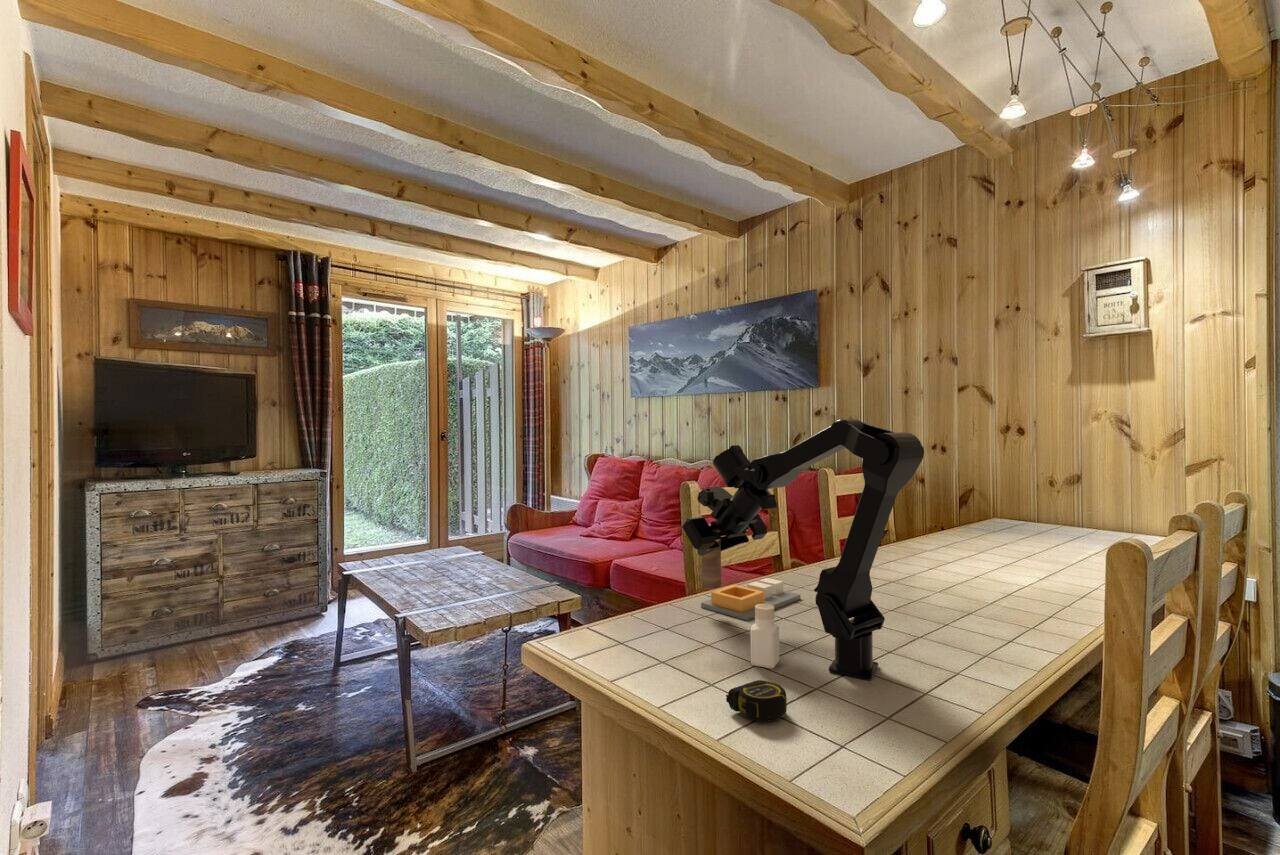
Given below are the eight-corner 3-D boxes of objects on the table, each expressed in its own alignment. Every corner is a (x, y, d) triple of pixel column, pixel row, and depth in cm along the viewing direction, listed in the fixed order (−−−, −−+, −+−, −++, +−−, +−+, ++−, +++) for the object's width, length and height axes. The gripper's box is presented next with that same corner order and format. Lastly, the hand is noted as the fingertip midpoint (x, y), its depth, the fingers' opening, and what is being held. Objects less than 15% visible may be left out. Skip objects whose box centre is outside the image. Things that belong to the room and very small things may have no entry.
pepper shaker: (756, 657, 101) (756, 601, 100) (780, 661, 99) (779, 604, 99) (749, 666, 97) (749, 608, 97) (774, 670, 95) (773, 611, 95)
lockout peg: (715, 589, 120) (714, 527, 120) (698, 586, 123) (697, 526, 122) (724, 584, 123) (724, 525, 123) (707, 582, 126) (707, 523, 126)
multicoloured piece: (746, 620, 119) (746, 603, 119) (701, 607, 128) (700, 591, 128) (800, 598, 133) (800, 583, 133) (755, 588, 141) (755, 573, 141)
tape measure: (762, 699, 86) (762, 673, 86) (797, 719, 80) (797, 691, 80) (725, 711, 82) (725, 684, 82) (759, 733, 76) (759, 704, 76)
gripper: (756, 471, 125) (721, 517, 134) (687, 477, 114) (654, 526, 123) (785, 513, 118) (746, 558, 128) (715, 523, 108) (678, 572, 117)
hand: (706, 552), depth 124 cm, fingers closed on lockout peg, 4 cm apart
